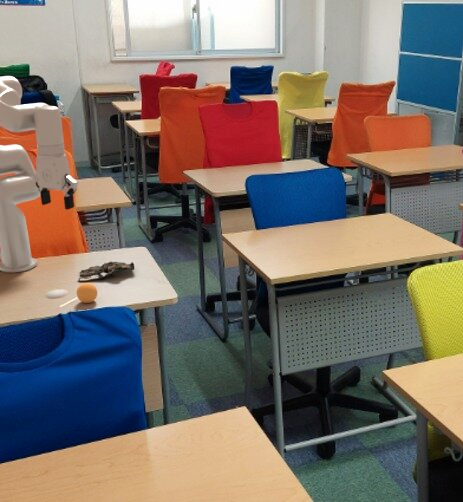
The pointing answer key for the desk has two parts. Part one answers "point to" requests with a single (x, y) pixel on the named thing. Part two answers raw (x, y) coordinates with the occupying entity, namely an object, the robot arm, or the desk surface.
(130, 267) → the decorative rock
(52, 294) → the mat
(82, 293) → the ball
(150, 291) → the desk surface
